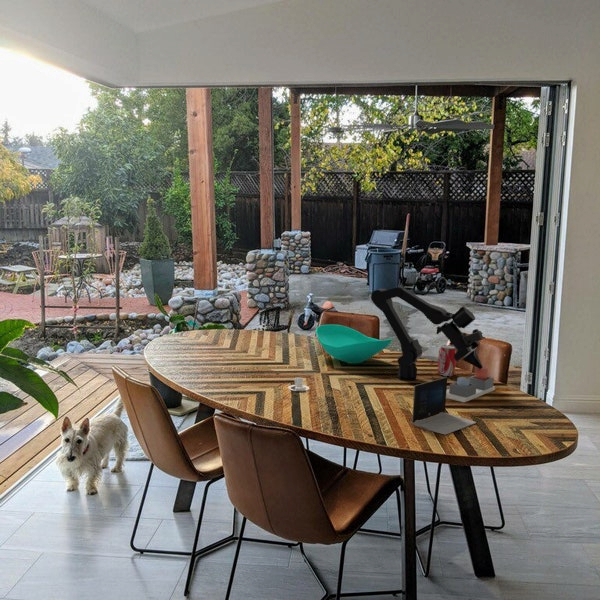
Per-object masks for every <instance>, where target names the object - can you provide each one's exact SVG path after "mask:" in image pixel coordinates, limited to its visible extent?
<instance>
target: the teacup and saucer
mask: <svg viewBox="0 0 600 600" xmlns="http://www.w3.org/2000/svg"><path fill="white" fill-rule="evenodd" d="M303 382H304V378H303V377H294V384H291V385H289V386H288V387H287V389H288V390H291V391H293V392H294V391H295V392H305V391H308V390H310V387H309V386H308V385H303ZM292 387H294V389H292Z"/></svg>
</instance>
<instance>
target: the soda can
mask: <svg viewBox="0 0 600 600" xmlns="http://www.w3.org/2000/svg"><path fill="white" fill-rule="evenodd" d="M456 353H457V349H456V348H455V347H454V346H453V345H450V344H448V345H447V344H444V345H440V348H439V350H438V359H437V373H438V374H439V375H440V376H441V375H443V376H442V377H447V376H449V377H452V376H454V375H455V372H456V363H457V361H456V360H455V359H454V354H456Z"/></svg>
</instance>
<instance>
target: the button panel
mask: <svg viewBox="0 0 600 600" xmlns="http://www.w3.org/2000/svg"><path fill="white" fill-rule="evenodd" d="M467 378H469V379H470V383H469V386H467V387H464V386H460V385H457V381H454V382H452V383H449V388H447V390H446V399H448V400H449V399H450V400H452V401H456V402H461V403H466V402H468V401H471V400H474V399H476V398H478V397H481V396H483V395H484V396H485V394H489V393H491V392H493V391H495V388H496V387H495V386H494V383H495V382H494V380H495V379H494V377H491V376H487V379H486V380H481V379H476V378H475V374H474V375H472V376H469V377H467Z"/></svg>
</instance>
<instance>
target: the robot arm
mask: <svg viewBox="0 0 600 600" xmlns="http://www.w3.org/2000/svg"><path fill="white" fill-rule="evenodd" d="M393 298H399V299H400V300H401V301H404V302H406V303H407V304H409V305H410V306H412V307H413V308H414V309H416V310H418V311H420V312H421V313H422V314H423V315H424V316H425V318H427V319H428V320H429V321H430V322H431V323H432V324H433V325H436V333H435V334H437V335H439V334H440V333H442V334H443V335H444V336H445V338H446V339H448V341H449V346H454V347H455V350H456V354H454V359H455V360H456V362H459V361H460V360H462V361H463V362H466V363H469V364H470V365H472V366H474V367H475V368H477V367H478V368H480V369H481V368H484V367H483V363H482V361H481V359H480V357H479V355H478V350H479V348H478V347H479V346H480V345H481V343H480V341H482V340H484V337H483V334H484V333H483V332H482V331H481V330H479V329H478V328H475V329H473V330H472V332H471V333H469V334H467V333H466V332H462V330H460V329H466V327H468V326H469V325H470V324H472V323H473V322H474V321H475V320H476V316H475V314H473V312H472V311H470V310H469V309H467V308H466V307H465V306H461V307H460V308H459V309H458V310H457V311H456V312H455V313H453V312H448V311H447V310H446V309H445V308H443V307H440V306H438V305H435V304H432V303H429V302H427V301H426V300H424V299H422V298H421V297H419V296H418V295H416V294H414V292H412V291H410V290H409V289H407V288H405V286H402V285H400V286H396V287H394V288H390V289H386V288H379V289H375V290H374V291H373V292H372V293H371V296H370V299H371V302H372V303H373V304H374V305H375V306H376V308H378V310H380V311H381V312H382V313H383V315H384V317H385V318H386V321H387V322H388V323H389V325H390V327H391V329H392V331H393V333H394V334H395V336H396V338H397V339H398V341H399V343H400V348H401V349H400V351H401V353H402V355H401V356H400V357H398V358H397V364H398V374H397V375H396V376H397V377H398V379H399V380H400V381H417V377H418V368H417V364H416V363H417V362H418V360H420V358H422V356H423V350H422V349H423V346H421V344H420V342H419V340H418V339H413V338H412V337H411V336H410V335H409V333H408V330H407V329H406V327H405V325H404V323H403V322H402V320H401V318H400V317H399V315H398V313H397V311H396V309H395V307H394V305H393ZM441 324H442V325H441ZM437 325H438V326H437ZM439 325H440V326H439Z"/></svg>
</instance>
